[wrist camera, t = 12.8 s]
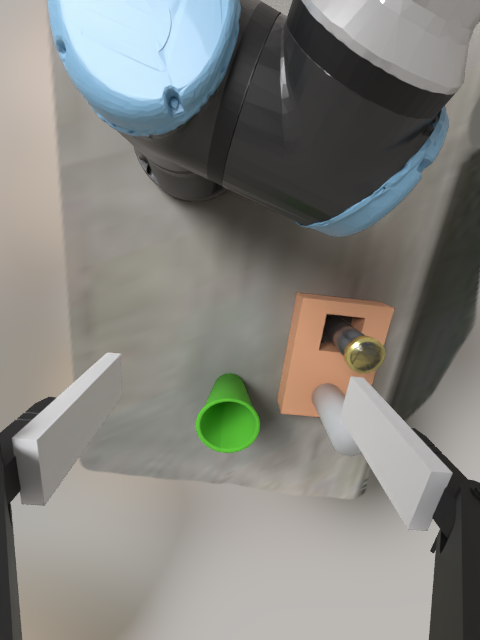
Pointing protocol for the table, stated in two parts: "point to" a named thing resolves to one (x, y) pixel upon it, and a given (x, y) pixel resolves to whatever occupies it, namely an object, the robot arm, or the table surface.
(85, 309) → the table surface
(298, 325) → the peach square-hole plate
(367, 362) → the pin
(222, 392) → the cup
